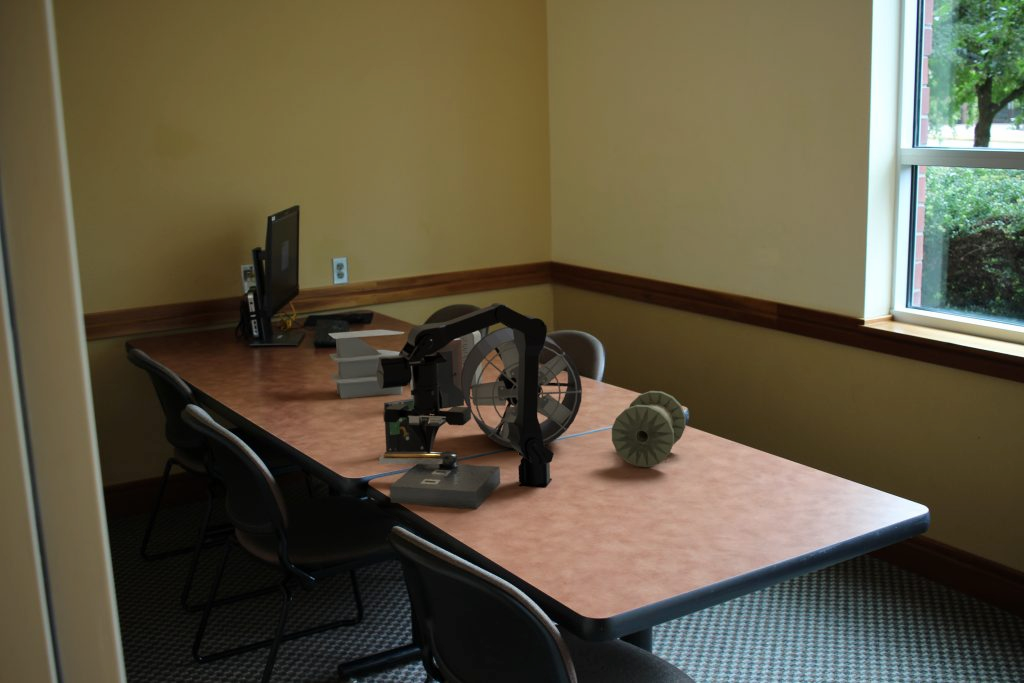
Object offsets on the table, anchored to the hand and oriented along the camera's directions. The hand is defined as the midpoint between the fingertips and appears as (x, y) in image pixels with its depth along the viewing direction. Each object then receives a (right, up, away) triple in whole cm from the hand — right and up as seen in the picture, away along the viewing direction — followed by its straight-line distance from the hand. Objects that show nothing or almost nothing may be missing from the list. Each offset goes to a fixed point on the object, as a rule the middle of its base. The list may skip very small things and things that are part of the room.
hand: (428, 452), depth 220 cm
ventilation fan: (+21, -3, +45) cm, 50 cm away
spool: (+53, -5, +29) cm, 60 cm away
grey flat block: (+4, -10, +6) cm, 12 cm away
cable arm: (-3, -4, +13) cm, 14 cm away
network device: (-3, +9, +111) cm, 112 cm away
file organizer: (-27, +5, +98) cm, 102 cm away
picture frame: (-4, +3, +80) cm, 80 cm away
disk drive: (-9, -5, +35) cm, 37 cm away
